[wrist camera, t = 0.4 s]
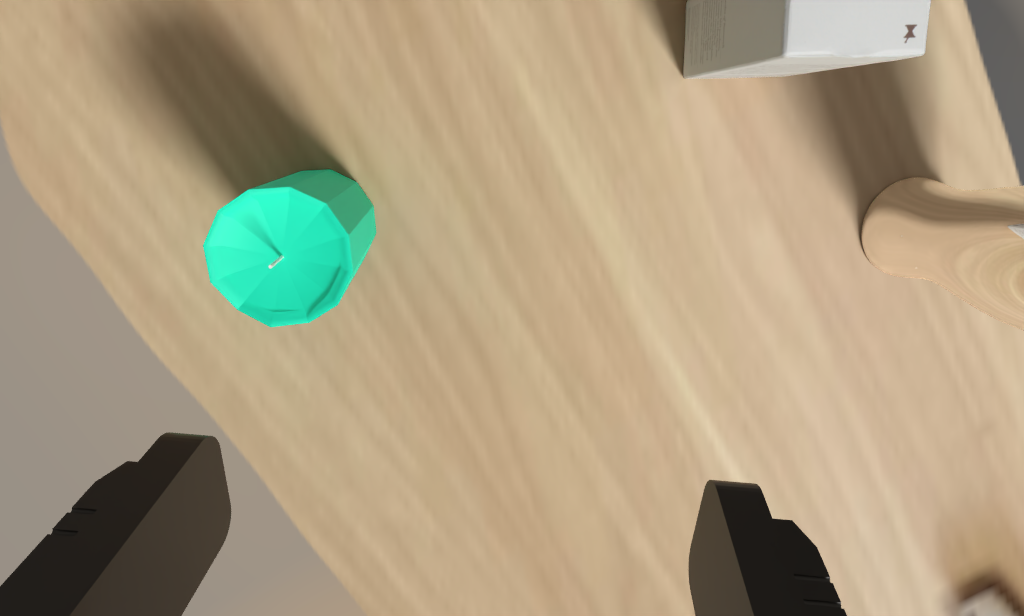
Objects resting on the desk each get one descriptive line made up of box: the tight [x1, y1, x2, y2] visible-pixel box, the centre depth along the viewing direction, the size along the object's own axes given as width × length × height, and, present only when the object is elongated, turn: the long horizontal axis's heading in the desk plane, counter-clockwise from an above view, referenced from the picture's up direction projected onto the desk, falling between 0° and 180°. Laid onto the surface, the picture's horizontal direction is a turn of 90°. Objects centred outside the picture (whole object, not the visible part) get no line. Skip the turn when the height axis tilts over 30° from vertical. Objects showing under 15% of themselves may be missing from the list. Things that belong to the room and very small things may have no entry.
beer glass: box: [861, 177, 1024, 331], centre depth 34 cm, size 7×7×15 cm
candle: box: [203, 169, 376, 327], centre depth 32 cm, size 6×6×12 cm
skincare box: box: [683, 0, 931, 79], centre depth 32 cm, size 6×4×12 cm
